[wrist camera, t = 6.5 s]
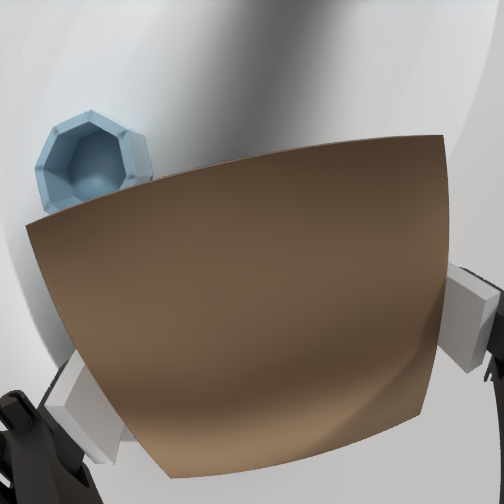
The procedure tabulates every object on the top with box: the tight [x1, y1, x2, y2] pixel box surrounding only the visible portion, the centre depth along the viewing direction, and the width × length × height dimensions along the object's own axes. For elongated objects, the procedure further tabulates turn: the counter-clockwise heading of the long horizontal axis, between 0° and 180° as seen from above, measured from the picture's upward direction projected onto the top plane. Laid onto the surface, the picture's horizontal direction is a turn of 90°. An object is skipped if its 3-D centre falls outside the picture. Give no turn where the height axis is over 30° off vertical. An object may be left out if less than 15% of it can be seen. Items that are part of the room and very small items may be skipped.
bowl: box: [35, 110, 153, 215], centre depth 20 cm, size 8×8×5 cm
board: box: [26, 135, 449, 478], centre depth 9 cm, size 11×11×2 cm
